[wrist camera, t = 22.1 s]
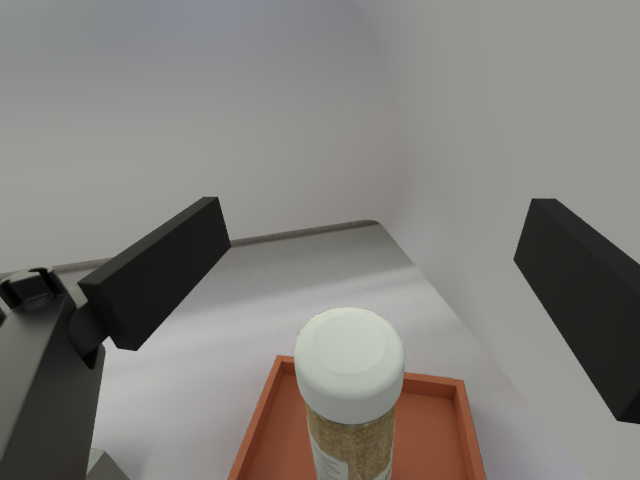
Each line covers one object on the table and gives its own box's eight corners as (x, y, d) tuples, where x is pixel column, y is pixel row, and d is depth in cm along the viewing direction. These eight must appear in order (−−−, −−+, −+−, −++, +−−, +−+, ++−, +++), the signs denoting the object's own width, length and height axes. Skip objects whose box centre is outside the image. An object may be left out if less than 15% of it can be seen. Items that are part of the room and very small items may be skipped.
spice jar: (403, 524, 17) (429, 377, 10) (326, 549, 16) (300, 409, 9) (374, 440, 21) (379, 294, 14) (311, 457, 20) (286, 313, 13)
